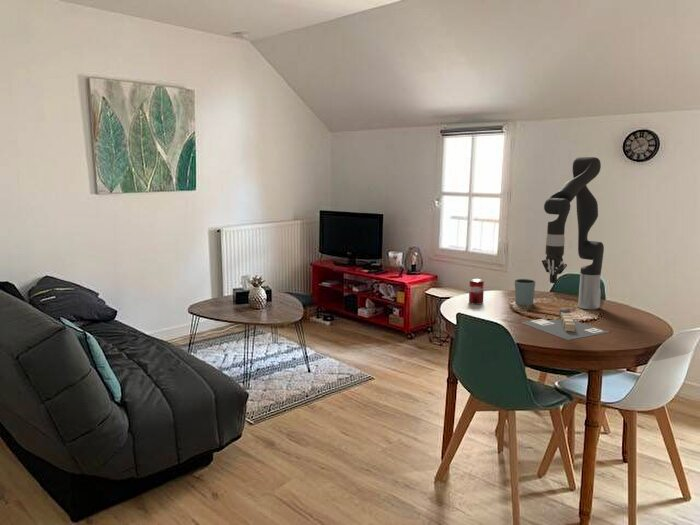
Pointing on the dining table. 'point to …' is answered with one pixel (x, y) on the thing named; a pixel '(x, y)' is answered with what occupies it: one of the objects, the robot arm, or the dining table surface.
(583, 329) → the label mat
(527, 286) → the teal cup
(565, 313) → the swing arm
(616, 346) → the dining table surface
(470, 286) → the soda can
